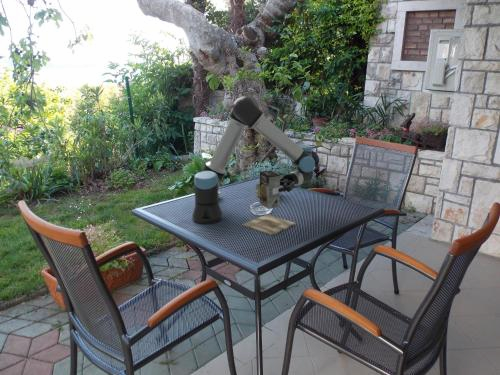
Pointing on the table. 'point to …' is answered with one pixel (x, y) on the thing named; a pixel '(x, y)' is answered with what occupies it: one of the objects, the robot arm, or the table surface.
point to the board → (269, 224)
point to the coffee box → (269, 189)
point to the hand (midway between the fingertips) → (264, 189)
